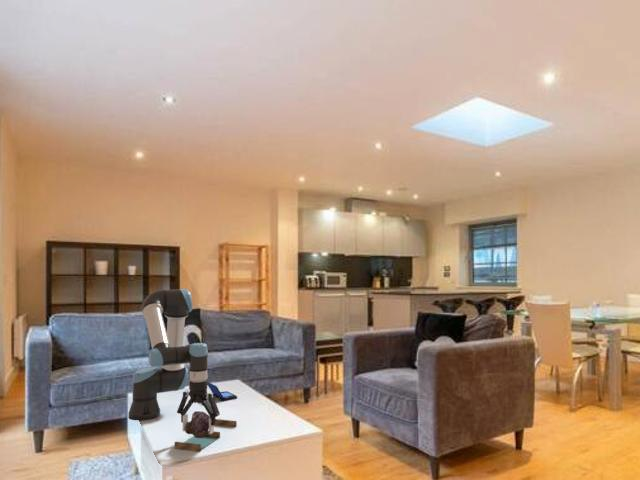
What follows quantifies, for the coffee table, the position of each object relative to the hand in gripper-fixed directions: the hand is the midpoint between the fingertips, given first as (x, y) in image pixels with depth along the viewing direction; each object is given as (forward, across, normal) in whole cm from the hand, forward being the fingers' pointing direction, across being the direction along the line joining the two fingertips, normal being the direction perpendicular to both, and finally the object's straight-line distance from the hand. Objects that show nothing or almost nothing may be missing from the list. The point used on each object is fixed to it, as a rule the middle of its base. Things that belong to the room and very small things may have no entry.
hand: (198, 431), depth 192 cm
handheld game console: (+5, -26, +64) cm, 70 cm away
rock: (+1, +1, 0) cm, 1 cm away
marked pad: (+5, 0, 0) cm, 5 cm away
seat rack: (+5, 0, +8) cm, 9 cm away
